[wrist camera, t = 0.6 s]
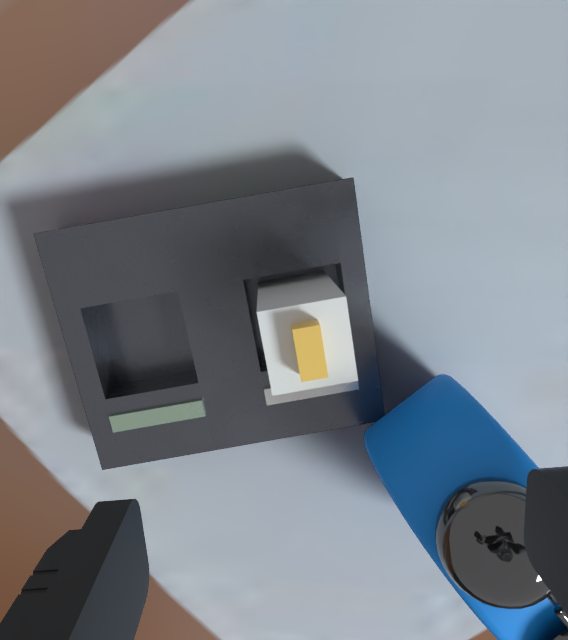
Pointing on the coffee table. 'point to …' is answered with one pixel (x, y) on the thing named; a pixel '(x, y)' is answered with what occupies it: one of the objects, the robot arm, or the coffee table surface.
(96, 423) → the panel
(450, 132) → the coffee table surface
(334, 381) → the plug
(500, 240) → the coffee table surface
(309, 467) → the coffee table surface
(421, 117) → the coffee table surface
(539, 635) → the alarm clock
